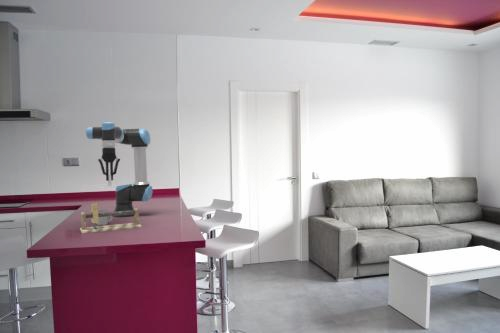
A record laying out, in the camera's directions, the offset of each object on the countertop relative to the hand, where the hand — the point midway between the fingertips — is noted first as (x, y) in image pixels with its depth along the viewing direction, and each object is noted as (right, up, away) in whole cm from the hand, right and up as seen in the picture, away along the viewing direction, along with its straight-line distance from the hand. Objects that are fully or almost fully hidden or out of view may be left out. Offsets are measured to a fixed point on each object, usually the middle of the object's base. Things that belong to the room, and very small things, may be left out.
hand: (109, 185), depth 235 cm
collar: (-7, -22, -5) cm, 23 cm away
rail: (+1, -26, 0) cm, 26 cm away
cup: (-9, -26, +16) cm, 32 cm away
